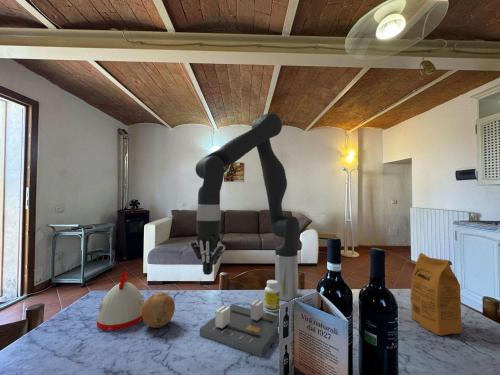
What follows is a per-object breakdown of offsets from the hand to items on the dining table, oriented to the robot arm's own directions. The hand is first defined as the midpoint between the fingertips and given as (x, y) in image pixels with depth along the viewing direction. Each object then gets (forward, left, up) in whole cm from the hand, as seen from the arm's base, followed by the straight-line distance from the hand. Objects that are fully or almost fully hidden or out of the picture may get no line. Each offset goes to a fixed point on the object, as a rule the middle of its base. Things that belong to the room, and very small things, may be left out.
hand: (207, 273), depth 73 cm
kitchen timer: (+9, -28, -17) cm, 34 cm away
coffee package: (-36, +63, -16) cm, 74 cm away
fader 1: (0, +6, -14) cm, 15 cm away
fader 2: (-9, +13, -14) cm, 21 cm away
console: (-5, +11, -16) cm, 20 cm away
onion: (+6, -14, -16) cm, 23 cm away
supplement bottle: (-22, +13, -16) cm, 30 cm away
